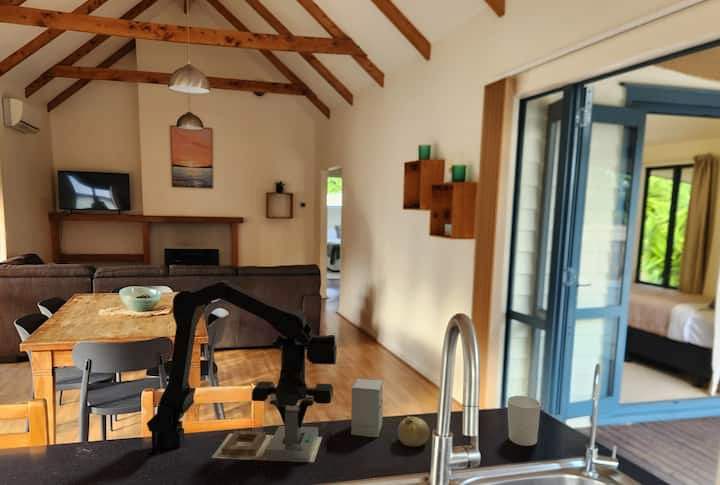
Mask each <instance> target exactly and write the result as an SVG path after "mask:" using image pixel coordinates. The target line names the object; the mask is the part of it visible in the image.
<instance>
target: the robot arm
mask: <svg viewBox="0 0 720 485" xmlns="http://www.w3.org/2000/svg"><path fill="white" fill-rule="evenodd" d="M217 300H223V301H225V302H227V303H229V304H232V305H234V307H235V306H236V307H237V308H239V309H241V310H243V311H245V312H246V313H247V312H248V313H249V314H251V315H254V316H256V317H258V318H259V319H262V320H263V321H265V322H267V324H269V326H271V328H272V329H274V331H276V332H277V333H279V334H278V336H277V338H276V339H275V340H273V342H272V344H271V345H272V346H273V347H275V346H276V347H280V373H279V379H278V381H277V386H275V383H274V381H259V382H258V383H257V384H256V385H255V386H254V387H253V389H252V390H251V401H253V402H265V401H266V400H267V399H268V398H269V396H270V401H269V404H270V406H271V405H272V406H274V407H276V408H277V410H278V413H279V416H280V417H281V420H282V422H283V426H285V411H286V405H289V406H295V405H297V403H300V415H299V428H301V427H303V426H302V425H303V422H304V419H305V416H306V413H307V410H308V408H309V407H312V406H313V405H314V403H316V404H322V405H323V404H330V403H331V402H332V400H333V397H334V386H333V385H332V384H331V383H316V385H315V387H308V385H307V382H306V359H307V361H308V363H311V365H331V366H332V365H334V366H335V365H336V363H337V354H338V353H337V351H338V350H337V346H336V345H337V344H336V336H335V334H328V335H316V334H315V332H314V330H313V328H312V327H311V326H310V325H309V323H307V320H308V319H307V317H306V314H305V312H303V311H302V310H301V309H298V308H294V307H291V306H288V305H282V304H276V303H273V302H271V301H270V300H267V299H265V298H263V297H261V296H259V295H257V294H255V293H253V292H251V291H249V290H247V289H245V288H243V287H240V286H239V285H237V284H235V283H233V282H232V281H231V280H227V279H222V280H221V281H218V282H216V283H213V284H210V285H208V286H204V287H198V286H192V287H188V288H187V289H183V290H181V291H179V292H178V293H176V294H175V295H174V297H173V300H172V316H173V319H174V323H175V327H176V328H175V334H174V341H173V348H172V353H171V354H172V355H171V361H170V368H169V375H168V382H167V384H166V387H165V389H164V390H163V393H162V395H161V397H160V400H159V403H158V405H157V409H156V414H154V416H153V417H152V418H151V419H149V420H148V421H147V422H146V426H147V429H148V431H149V432H151V449H150V450H148V455H155V454H156V453H157V452H158V451H159V452H164V451H171V450H177V449H180V448H182V446H183V445H184V444H185V428H184V427H183V421H182V420H181V419H182V418H183V417H184V416H185V413H187V412H188V411H189V409H190V408H191V407H192V406H193V405H194V403H195V400H194V398H195V393H196V387H191V385H190V382H189V379H190V378H189V377H190V373H191V364H192V358H193V352H194V347H195V346H194V344H195V339H196V338H195V337H196V333H197V326H198V323H199V321H200V320H201V317H202V315H203V313H204V311H205V307H206V305H207V304H209V303H212V302H215V301H217ZM299 401H300V402H299Z"/></svg>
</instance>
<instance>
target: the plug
mask: <svg viewBox="0 0 720 485" xmlns="http://www.w3.org/2000/svg"><path fill="white" fill-rule="evenodd" d="M300 403H301V402H298V403H297V405H295V406H289V405H286V411H285V441H289V442H298V439H299V437H300V435H301V428H299V415H300Z"/></svg>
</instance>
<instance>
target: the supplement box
mask: <svg viewBox="0 0 720 485" xmlns="http://www.w3.org/2000/svg"><path fill="white" fill-rule="evenodd" d="M383 387H384V385H383V380H380V379H379V380H377V379H366V378H364V379H363V378H357V379H356V380H355V382H354V384H353V386H352V387H351V421H350V422H351V423H350V424H351V425H350V427H351V428H350V429H351V430H350V434H351V435H352V436H360V437H369V438H370V437H371V438H379V435H380V431H381V429H382V426H383Z"/></svg>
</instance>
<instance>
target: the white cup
mask: <svg viewBox="0 0 720 485" xmlns="http://www.w3.org/2000/svg"><path fill="white" fill-rule="evenodd" d="M540 415H541V402H540V401H539V400H538V399H536V398H535V397H534V398H533V397H530V396H527V395H526V396H525V395H513V396H509V397H508V398H507V421H508V422H507V425H508V426H507V427H508V437H509V440H510V441H511V442H512V443H514V444H516V445H520V446H522V447H523V446H525V447H529V446H530V447H531V446H532V447H533V446H534V445H536V444H537V442H538V432H539V425H540Z"/></svg>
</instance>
